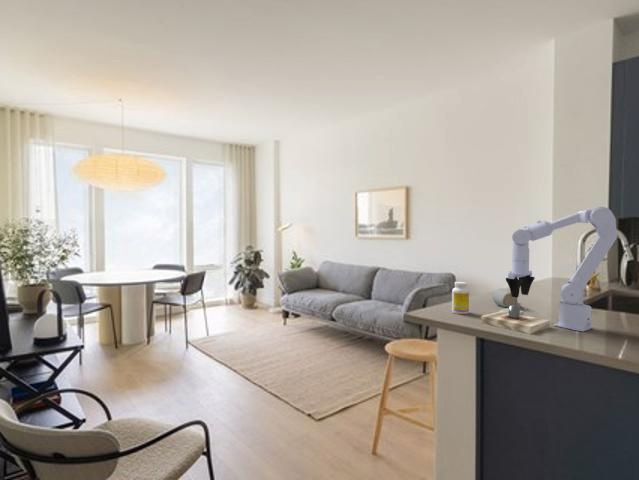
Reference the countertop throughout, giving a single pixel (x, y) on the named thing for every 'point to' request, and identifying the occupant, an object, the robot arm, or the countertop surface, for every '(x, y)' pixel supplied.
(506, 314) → the hole plate
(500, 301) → the ceramic mug
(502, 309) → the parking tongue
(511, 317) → the peg
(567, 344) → the countertop surface
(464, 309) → the supplement bottle
